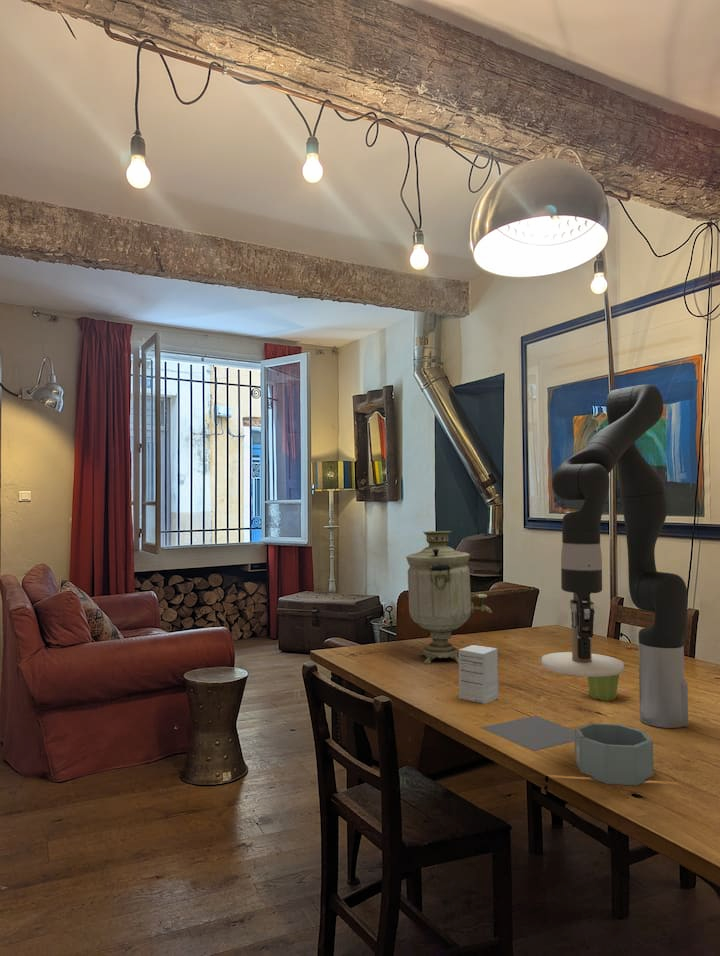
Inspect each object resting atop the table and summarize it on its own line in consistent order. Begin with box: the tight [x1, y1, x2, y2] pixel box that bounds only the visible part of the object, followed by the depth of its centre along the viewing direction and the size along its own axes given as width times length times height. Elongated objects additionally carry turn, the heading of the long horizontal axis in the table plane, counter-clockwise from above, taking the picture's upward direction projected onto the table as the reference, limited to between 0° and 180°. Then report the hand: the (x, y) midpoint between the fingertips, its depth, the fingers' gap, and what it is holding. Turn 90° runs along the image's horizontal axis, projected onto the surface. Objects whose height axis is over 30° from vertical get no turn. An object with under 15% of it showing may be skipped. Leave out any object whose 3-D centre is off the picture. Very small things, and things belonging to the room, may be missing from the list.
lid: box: [541, 627, 625, 677], centre depth 131 cm, size 15×15×7 cm
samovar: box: [405, 530, 493, 664], centre depth 212 cm, size 30×26×40 cm
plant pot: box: [586, 674, 620, 702], centre depth 170 cm, size 9×9×9 cm
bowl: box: [574, 722, 654, 787], centre depth 124 cm, size 13×13×6 cm
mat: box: [480, 715, 575, 752], centre depth 143 cm, size 16×16×1 cm
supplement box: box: [458, 644, 499, 705], centre depth 169 cm, size 7×7×13 cm
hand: (582, 655), depth 131 cm, fingers closed on lid, 3 cm apart
